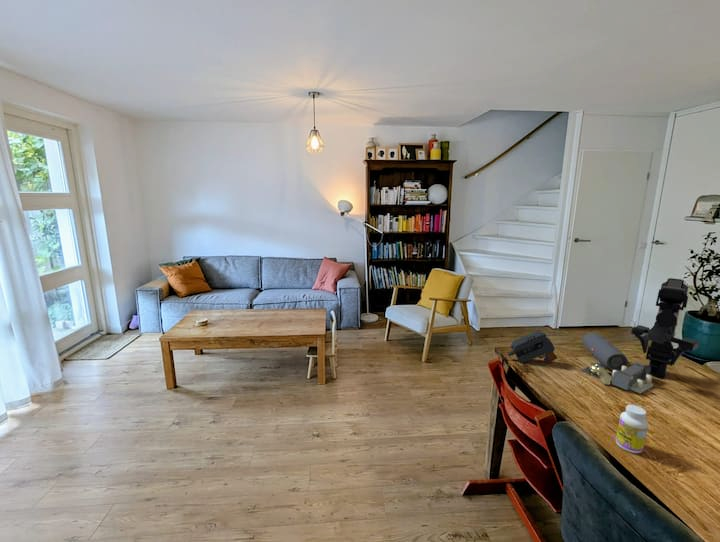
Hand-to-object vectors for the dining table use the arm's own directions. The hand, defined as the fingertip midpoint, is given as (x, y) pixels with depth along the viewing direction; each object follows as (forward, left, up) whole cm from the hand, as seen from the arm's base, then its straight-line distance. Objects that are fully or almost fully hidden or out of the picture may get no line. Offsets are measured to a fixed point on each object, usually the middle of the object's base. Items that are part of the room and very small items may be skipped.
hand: (659, 357), depth 131 cm
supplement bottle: (+46, +11, -13) cm, 49 cm away
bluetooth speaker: (-6, -22, -13) cm, 26 cm away
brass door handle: (+10, -14, -12) cm, 21 cm away
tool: (+22, -38, -13) cm, 46 cm away
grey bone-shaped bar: (+4, -6, -12) cm, 14 cm away
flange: (+7, -17, -13) cm, 22 cm away
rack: (+4, -6, -13) cm, 15 cm away
